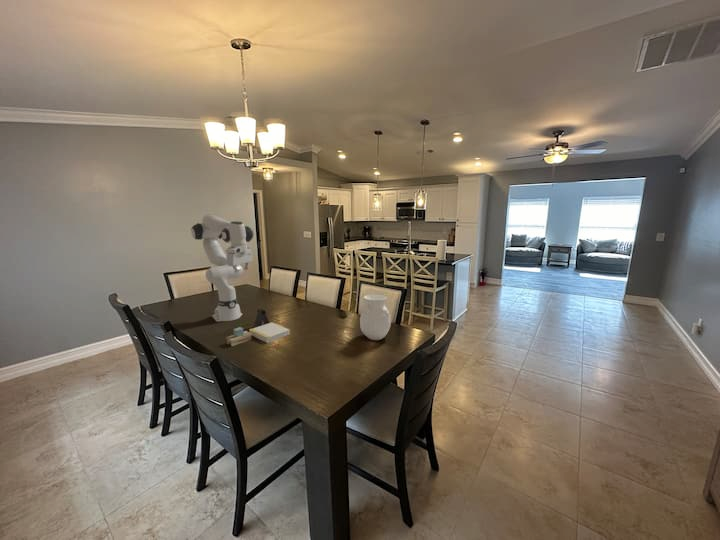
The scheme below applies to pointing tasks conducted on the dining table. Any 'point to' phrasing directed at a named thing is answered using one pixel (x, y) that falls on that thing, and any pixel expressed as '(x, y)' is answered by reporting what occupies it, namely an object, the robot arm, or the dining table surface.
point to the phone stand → (261, 318)
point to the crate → (238, 332)
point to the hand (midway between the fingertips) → (241, 271)
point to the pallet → (239, 339)
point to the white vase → (375, 317)
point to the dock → (269, 332)
